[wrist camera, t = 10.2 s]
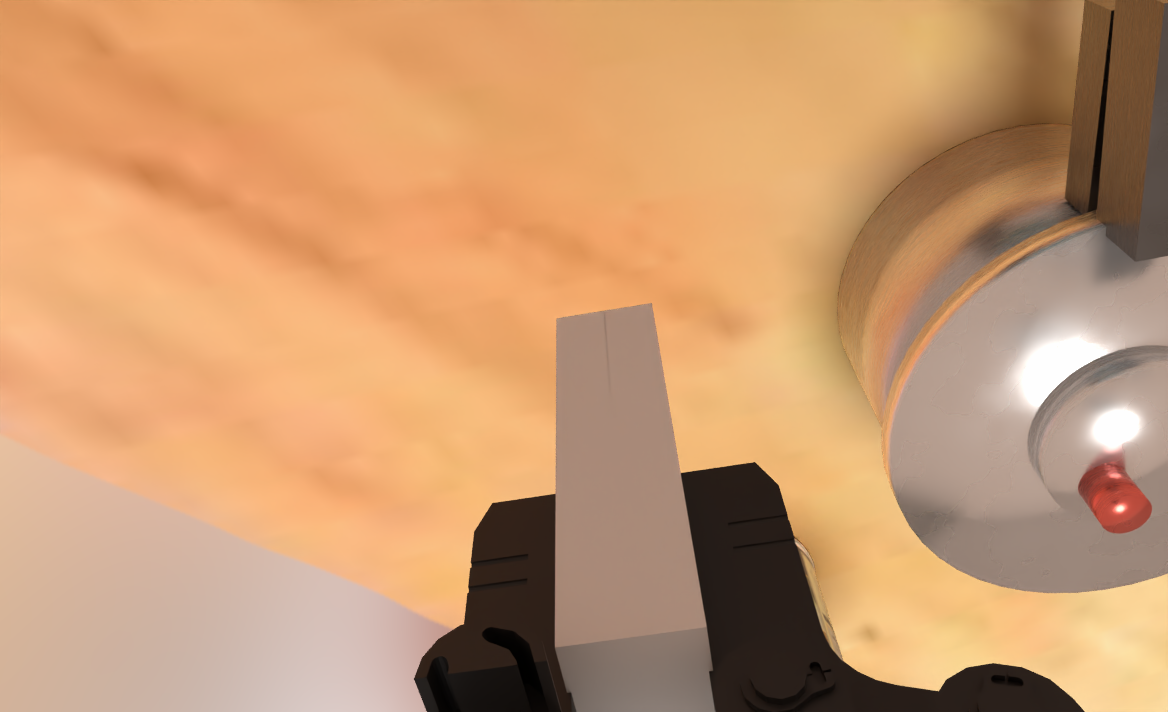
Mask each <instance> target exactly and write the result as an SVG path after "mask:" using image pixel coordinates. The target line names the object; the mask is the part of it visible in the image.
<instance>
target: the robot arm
mask: <svg viewBox="0 0 1168 712" xmlns="http://www.w3.org/2000/svg"><path fill="white" fill-rule="evenodd" d="M471 564H472V568H470V576H469V585H468V588H469V593H468V594H467V603H466V612H465V621H464V625H460V626H459V627H457V628H455V629H454V630H452V631H451V632H449V633H447V634H446V635H444V636H443V637H441V638H440V639H438V640H437V641H436V643H435V644H434V645H433V646H432V647H431V648H430V649H429V651H428V652H427V653H426V654H425V655H424V656H423V657H422V659H421V662H420V665H419V667H418V670H417V673H416V675H415V678H414V680H415V683H416V685H417V688H418V690H419V693H420V695H421V698H422V700H423V703H424V705H425V708H426V711H427V712H1084V710H1083V709H1082V708H1081V707H1080V706H1079V705H1078V704H1077V703H1076V701H1075V700H1074V699H1073V698H1072V697H1071V696H1069V695H1068V694H1067V693H1066V692H1065V691H1063V690H1062V689H1061V688H1060V687H1059V686H1057V685H1056V684H1055V683H1054V682H1052V681H1051V680H1050V679H1048V678H1045V677H1043V676H1041V675H1039V674H1036V673H1034V672H1032V671H1029V670H1027V669H1025V668H1022V667H1016V666H1009V665H1001V664H994V663H992V664H986V665H980V666H974V667H968V668H965V669H964V670H962V671H960V672H959V673H957V674H955V675H954V676H952V677H950V678H949V679H947V680H946V681H945V683H944V684H943V686H942V687H941V689H940V690H939V691H932V690H925V689H919V688H912V687H905V686H899V685H894V684H890V683H886V682H882V681H878V680H875V679H873V678H870V677H868V676H866V675H864V674H862V673H860V672H857V671H856V670H854V669H853V668H852V667H850V666H849V665H848V664H846V663H845V662H844V661H842V660H841V659H840V658H839V657H838V655H837V654H836V653H835V652H834V651H833V650H832V648H831V647H830V646H829V644H828V642H827V640H826V637H825V635H824V633H823V631H822V628H821V624H820V621H819V618H818V614H817V611H816V608H815V604H814V601H813V598H812V594H811V591H810V588H809V585H808V581H807V578H806V575H805V571H804V568H803V565H802V561H801V558H800V555H799V551H798V548H797V545H796V544H795V538H794V535H793V532H792V528H791V525H790V522H789V520H788V516H787V512H786V508H785V505H784V502H783V499H782V495H781V492H780V489H779V485H778V484H777V483H776V482H775V481H774V480H773V479H772V478H771V477H770V476H769V475H767V474H766V473H765V472H764V471H763V470H762V469H761V468H760V467H759V466H758V465H757V464H756V463H755V462H753V463H747V464H740V465H733V466H726V467H719V468H713V469H706V470H699V471H692V472H685V473H680V467H679V461H678V455H677V449H676V443H675V438H674V432H673V426H672V420H671V414H670V408H669V402H668V396H667V391H666V385H665V379H664V373H663V367H662V361H661V355H660V349H659V343H658V338H657V332H656V326H655V320H654V314H653V308H652V303H650V304H644V305H638V306H631V307H625V308H619V309H613V310H606V311H600V312H594V313H588V314H581V315H575V316H569V317H563V318H557V333H556V494H552V495H545V496H539V497H532V498H525V499H518V500H511V501H504V502H498V503H492V505H491V506H490V508H489V509H488V511H487V513H486V514H485V516H484V517H483V519H482V520H481V522H480V524H479V525H478V527H477V528H476V530H475V532H474V539H473V548H472V557H471Z"/></svg>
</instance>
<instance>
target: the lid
mask: <svg viewBox="0 0 1168 712" xmlns="http://www.w3.org/2000/svg"><path fill="white" fill-rule="evenodd" d="M881 446H882V453H883V461H884V468H885V471H886V474H887V477H888V480H889V484H890V487H891V489H892V491H893V494H894V496H895V498H896V500H897V502H898V505H899V507H900V509H901V511H902V513H903V514H904V516H905V518H906V520H907V522H908V524H909V526H910V527H911V529H912V530H913V531H914V532H915V534H916V535H917V536H918V537H919V539H920V540H921V541H922V543H923V544H924V545H926V546H927V547H928V548H929V549H930V550H931V551H932V552H933V553H934V554H936V555H937V556H938V557H939V558H940V559H942V560H943V561H945V562H946V563H948V564H950V565H951V566H953V567H954V568H956V569H957V570H959V571H961V572H964V573H966V574H968V575H970V576H972V577H974V578H976V579H979V580H982V581H985V582H988V583H992V584H995V585H998V586H1001V587H1007V588H1012V589H1017V590H1022V591H1031V592H1043V593H1078V592H1087V591H1096V590H1105V589H1110V588H1115V587H1120V586H1125V585H1130V584H1134V583H1138V582H1141V581H1145V580H1148V579H1152V578H1155V577H1159V576H1162V575H1164V574H1167V573H1168V0H1115V9H1114V20H1113V32H1112V43H1111V55H1110V66H1109V78H1108V89H1107V101H1106V112H1105V124H1104V135H1103V147H1102V158H1101V170H1100V181H1099V193H1098V205H1097V210H1093V211H1091V212H1088V213H1085V214H1082V215H1079V216H1077V217H1074V218H1071V219H1068V220H1065V221H1063V222H1060V223H1058V224H1056V225H1054V226H1052V227H1050V228H1048V229H1045V230H1043V231H1041V232H1039V233H1037V234H1035V235H1033V236H1031V237H1029V238H1027V239H1025V240H1024V241H1022V242H1020V243H1019V244H1017V245H1016V246H1014V247H1012V248H1011V249H1009V250H1007V251H1006V252H1004V253H1002V254H1001V255H999V256H998V257H996V258H995V259H994V260H992V261H991V262H990V263H988V264H987V265H986V266H984V267H983V268H982V269H980V270H979V271H978V272H976V273H975V274H974V275H972V276H971V277H970V278H969V279H968V280H967V281H966V282H965V283H964V284H962V285H961V286H960V287H959V288H958V289H957V290H956V291H955V292H954V293H953V294H952V295H951V296H950V297H948V298H947V299H946V300H945V302H944V303H943V304H942V305H941V306H940V307H939V309H938V310H937V311H936V312H935V313H934V314H933V316H932V317H931V318H930V319H929V320H928V321H927V322H926V324H925V325H924V327H923V328H922V330H921V331H920V332H919V334H918V335H917V337H916V338H915V340H914V341H913V343H912V344H911V346H910V347H909V349H908V351H907V353H906V355H905V357H904V359H903V360H902V362H901V364H900V366H899V368H898V370H897V372H896V374H895V377H894V380H893V383H892V386H891V389H890V391H889V394H888V397H887V401H886V406H885V411H884V416H883V422H882V445H881Z"/></svg>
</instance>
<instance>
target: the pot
mask: <svg viewBox="0 0 1168 712" xmlns="http://www.w3.org/2000/svg"><path fill="white" fill-rule="evenodd" d="M1114 9H1115V0H1085V4H1084V14H1083V23H1082V33H1081V43H1080V53H1079V62H1078V72H1077V82H1076V91H1075V101H1074V111H1073V121H1072V125H1068V124H1035V125H1025V126H1017V127H1013V128H1008V129H1004V130H999V131H995V132H991V133H989V134H986V135H983V136H980V137H977V138H974V139H971V140H969V141H967V142H965V143H962V144H960V145H958V146H956V147H954V148H952V149H950V150H948V151H946V152H944V153H943V154H941V155H939V156H938V157H936V158H934V159H933V160H931V161H930V162H928V163H926V164H925V165H923V166H922V167H921V168H919V169H918V170H917V171H916V172H914V173H913V174H912V175H910V176H909V177H908V178H907V179H905V180H904V181H903V182H902V183H901V184H900V185H899V186H898V187H897V188H896V189H895V190H894V191H893V192H892V193H891V194H889V195H888V196H887V197H886V199H885V200H884V201H883V202H882V203H881V205H880V206H879V207H878V208H877V209H876V211H875V212H874V213H873V214H872V215H871V217H870V218H869V220H868V221H867V223H866V225H865V226H864V228H863V229H862V231H861V232H860V234H859V235H858V237H857V239H856V241H855V244H854V246H853V248H852V250H851V252H850V254H849V256H848V259H847V262H846V265H845V268H844V271H843V274H842V278H841V283H840V289H839V294H838V313H837V314H838V324H839V332H840V336H841V340H842V343H843V347H844V350H845V352H846V354H847V357H848V359H849V361H850V363H851V365H852V367H853V369H854V371H855V373H856V376H857V378H858V380H859V382H860V384H861V386H862V388H863V390H864V392H865V394H866V396H867V398H868V400H869V402H870V404H871V407H872V409H873V411H874V413H875V415H876V417H877V419H878V421H879V423H880V425H881V427H882V422H883V416H884V411H885V406H886V401H887V397H888V394H889V391H890V389H891V386H892V383H893V380H894V377H895V374H896V372H897V370H898V368H899V366H900V364H901V362H902V360H903V359H904V357H905V355H906V353H907V351H908V349H909V347H910V346H911V344H912V343H913V341H914V340H915V338H916V337H917V335H918V334H919V332H920V331H921V330H922V328H923V327H924V325H925V324H926V322H927V321H928V320H929V319H930V318H931V317H932V316H933V314H934V313H935V312H936V311H937V310H938V309H939V307H940V306H941V305H942V304H943V303H944V302H945V300H946V299H947V298H948V297H950V296H951V295H952V294H953V293H954V292H955V291H956V290H957V289H958V288H959V287H960V286H961V285H962V284H964V283H965V282H966V281H967V280H968V279H969V278H970V277H971V276H972V275H974V274H975V273H976V272H978V271H979V270H980V269H982V268H983V267H984V266H986V265H987V264H988V263H990V262H991V261H992V260H994V259H995V258H996V257H998V256H999V255H1001V254H1002V253H1004V252H1006V251H1007V250H1009V249H1011V248H1012V247H1014V246H1016V245H1017V244H1019V243H1020V242H1022V241H1024V240H1025V239H1027V238H1029V237H1031V236H1033V235H1035V234H1037V233H1039V232H1041V231H1043V230H1045V229H1048V228H1050V227H1052V226H1054V225H1056V224H1058V223H1060V222H1063V221H1065V220H1068V219H1071V218H1074V217H1077V216H1079V215H1082V214H1085V213H1088V212H1091V211H1093V210H1097V205H1098V193H1099V181H1100V170H1101V158H1102V147H1103V135H1104V124H1105V112H1106V101H1107V89H1108V78H1109V66H1110V55H1111V43H1112V32H1113V20H1114Z"/></svg>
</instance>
